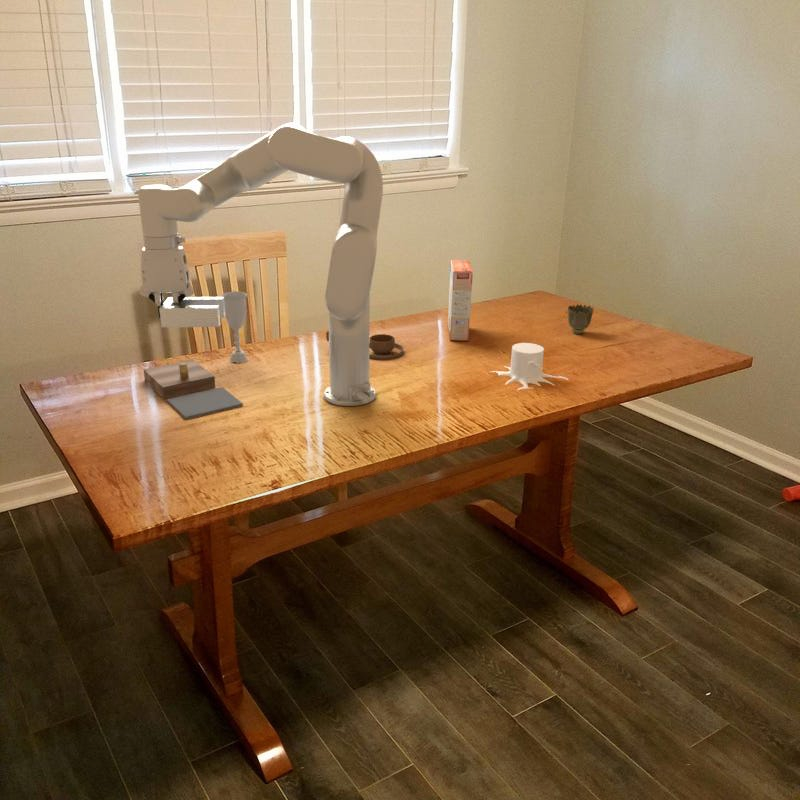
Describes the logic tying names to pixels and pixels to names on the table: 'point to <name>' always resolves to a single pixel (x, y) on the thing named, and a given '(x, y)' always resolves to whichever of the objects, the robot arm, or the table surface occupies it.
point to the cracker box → (459, 300)
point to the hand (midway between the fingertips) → (170, 320)
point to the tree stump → (526, 365)
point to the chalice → (236, 320)
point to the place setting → (381, 346)
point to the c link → (193, 312)
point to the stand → (179, 378)
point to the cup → (579, 317)
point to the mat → (204, 402)
